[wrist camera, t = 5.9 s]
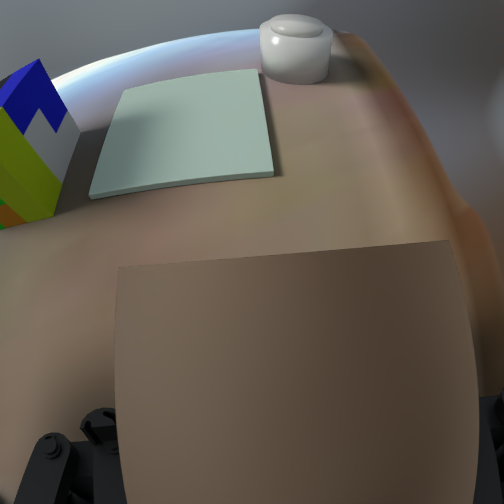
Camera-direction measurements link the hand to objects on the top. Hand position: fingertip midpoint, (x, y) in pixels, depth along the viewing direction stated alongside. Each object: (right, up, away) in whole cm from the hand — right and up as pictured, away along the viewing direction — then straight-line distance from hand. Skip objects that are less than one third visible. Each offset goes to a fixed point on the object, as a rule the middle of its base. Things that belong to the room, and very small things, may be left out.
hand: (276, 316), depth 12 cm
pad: (-7, +14, +11) cm, 19 cm away
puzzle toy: (-23, +10, +10) cm, 27 cm away
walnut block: (0, -5, +2) cm, 5 cm away
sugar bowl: (+3, +22, +14) cm, 26 cm away
